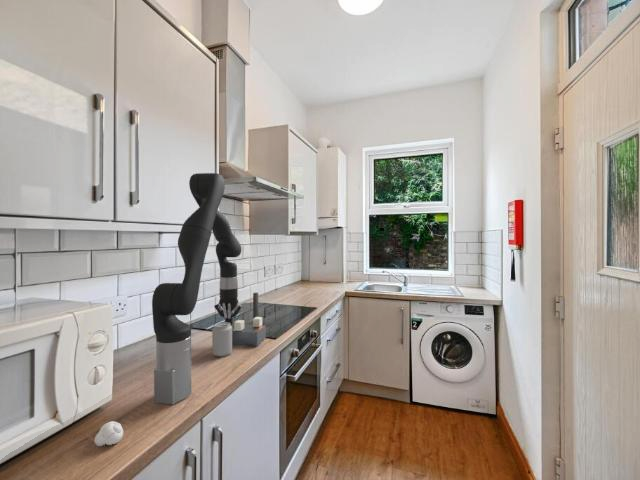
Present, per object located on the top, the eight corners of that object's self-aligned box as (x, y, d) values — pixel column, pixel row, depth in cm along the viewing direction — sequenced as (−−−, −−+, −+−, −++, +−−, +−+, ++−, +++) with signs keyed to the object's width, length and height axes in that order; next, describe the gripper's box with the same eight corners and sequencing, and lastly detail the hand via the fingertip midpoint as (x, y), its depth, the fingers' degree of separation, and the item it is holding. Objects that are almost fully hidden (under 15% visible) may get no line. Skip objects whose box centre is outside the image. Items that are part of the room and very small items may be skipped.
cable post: (258, 337, 134) (258, 294, 133) (249, 336, 135) (249, 293, 134) (262, 334, 138) (261, 292, 138) (253, 333, 139) (253, 291, 138)
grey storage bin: (257, 346, 123) (257, 332, 122) (230, 344, 125) (230, 330, 124) (265, 338, 132) (265, 325, 132) (241, 336, 134) (241, 323, 134)
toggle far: (259, 327, 129) (259, 319, 129) (253, 326, 129) (253, 319, 129) (262, 324, 132) (262, 317, 132) (256, 324, 133) (256, 316, 133)
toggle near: (240, 330, 124) (240, 322, 124) (234, 330, 124) (234, 322, 124) (244, 328, 127) (244, 320, 127) (237, 327, 128) (237, 319, 128)
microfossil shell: (124, 422, 66) (118, 413, 70) (95, 434, 63) (91, 425, 67) (125, 441, 66) (120, 432, 70) (96, 455, 63) (92, 444, 66)
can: (226, 358, 111) (226, 327, 111) (208, 356, 113) (208, 326, 112) (235, 350, 119) (235, 321, 118) (218, 349, 120) (218, 320, 120)
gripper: (210, 288, 124) (210, 328, 124) (239, 289, 122) (239, 330, 122) (219, 284, 131) (219, 322, 132) (246, 285, 129) (246, 324, 129)
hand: (228, 326), depth 127 cm, fingers closed
